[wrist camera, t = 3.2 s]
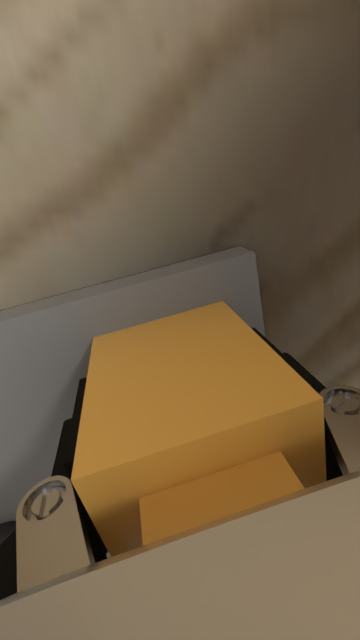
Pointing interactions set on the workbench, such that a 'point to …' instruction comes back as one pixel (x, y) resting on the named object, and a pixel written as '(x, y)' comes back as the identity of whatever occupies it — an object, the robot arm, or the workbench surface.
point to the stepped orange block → (190, 427)
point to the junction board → (75, 349)
